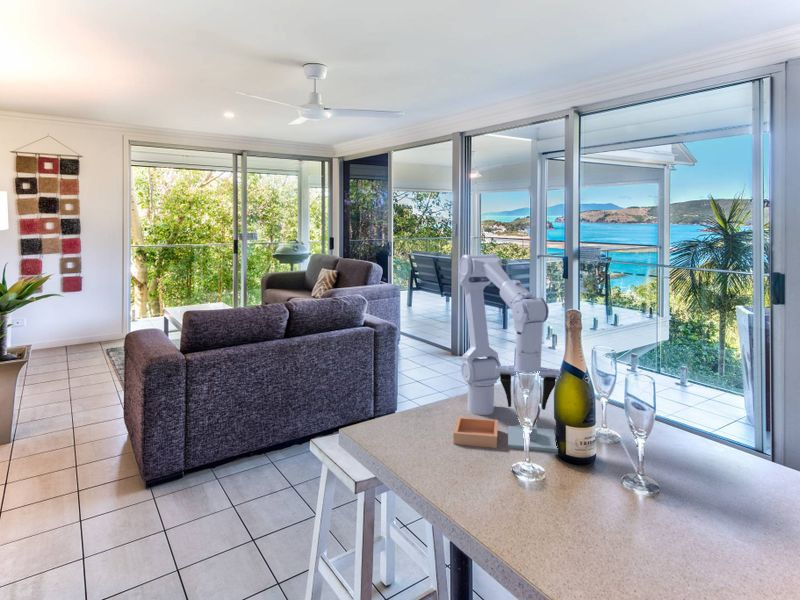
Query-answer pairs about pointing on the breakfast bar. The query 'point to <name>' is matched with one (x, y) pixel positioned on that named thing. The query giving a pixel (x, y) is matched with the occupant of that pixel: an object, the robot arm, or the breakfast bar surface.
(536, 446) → the lid
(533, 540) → the breakfast bar surface
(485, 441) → the square open tray
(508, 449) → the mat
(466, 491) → the breakfast bar surface
